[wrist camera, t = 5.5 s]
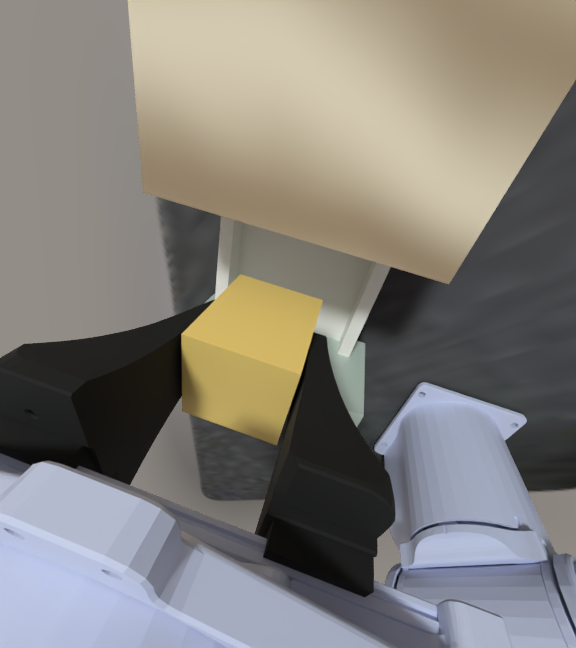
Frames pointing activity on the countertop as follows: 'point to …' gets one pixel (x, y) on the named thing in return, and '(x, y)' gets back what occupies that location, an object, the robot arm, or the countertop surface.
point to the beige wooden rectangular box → (349, 114)
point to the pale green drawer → (310, 291)
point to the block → (248, 356)
